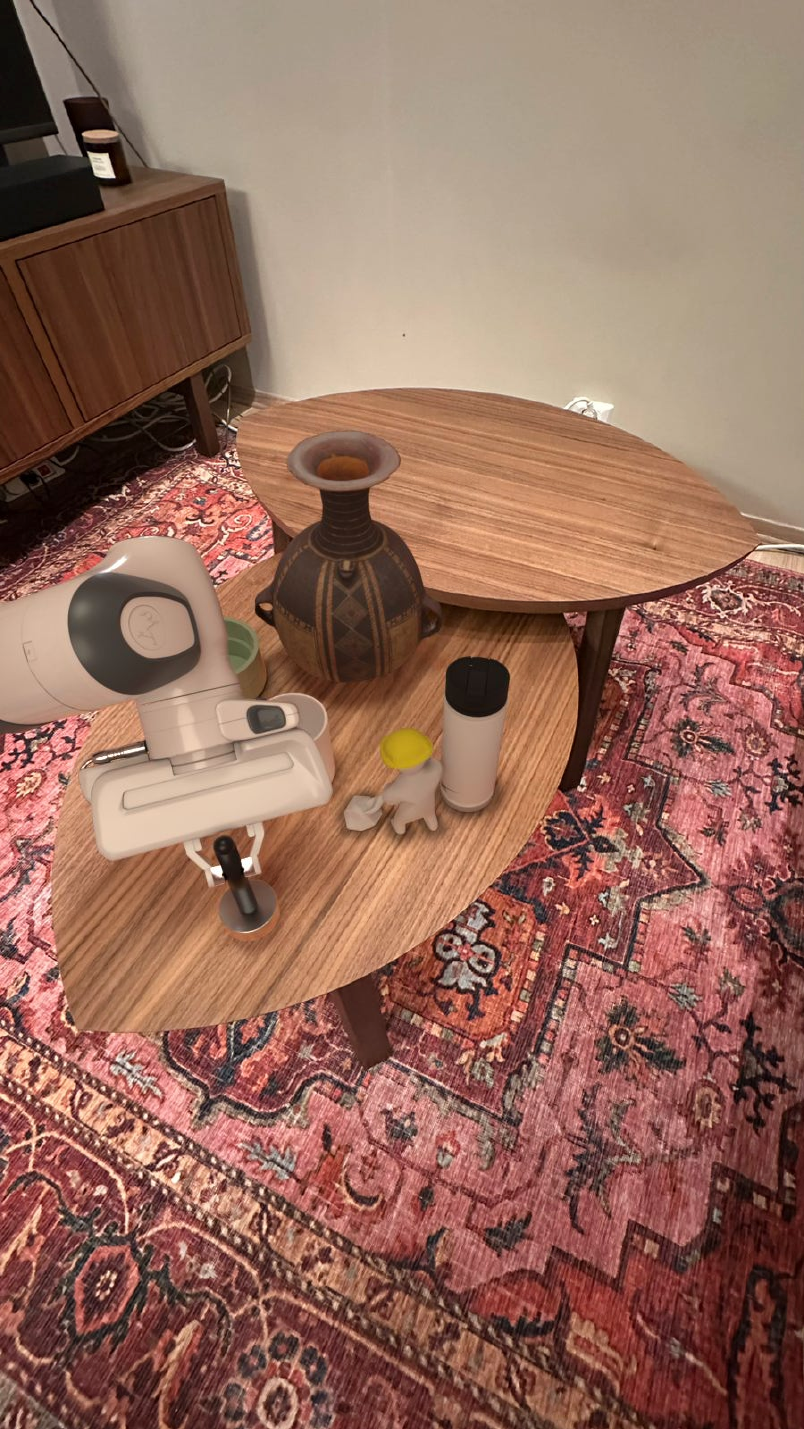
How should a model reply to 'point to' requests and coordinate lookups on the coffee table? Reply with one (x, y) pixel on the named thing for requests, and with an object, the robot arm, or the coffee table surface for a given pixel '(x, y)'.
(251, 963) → the coffee table surface
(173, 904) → the coffee table surface
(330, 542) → the vase
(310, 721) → the cup
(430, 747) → the figurine
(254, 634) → the bowl
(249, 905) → the meat pounder
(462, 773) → the travel mug
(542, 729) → the coffee table surface
